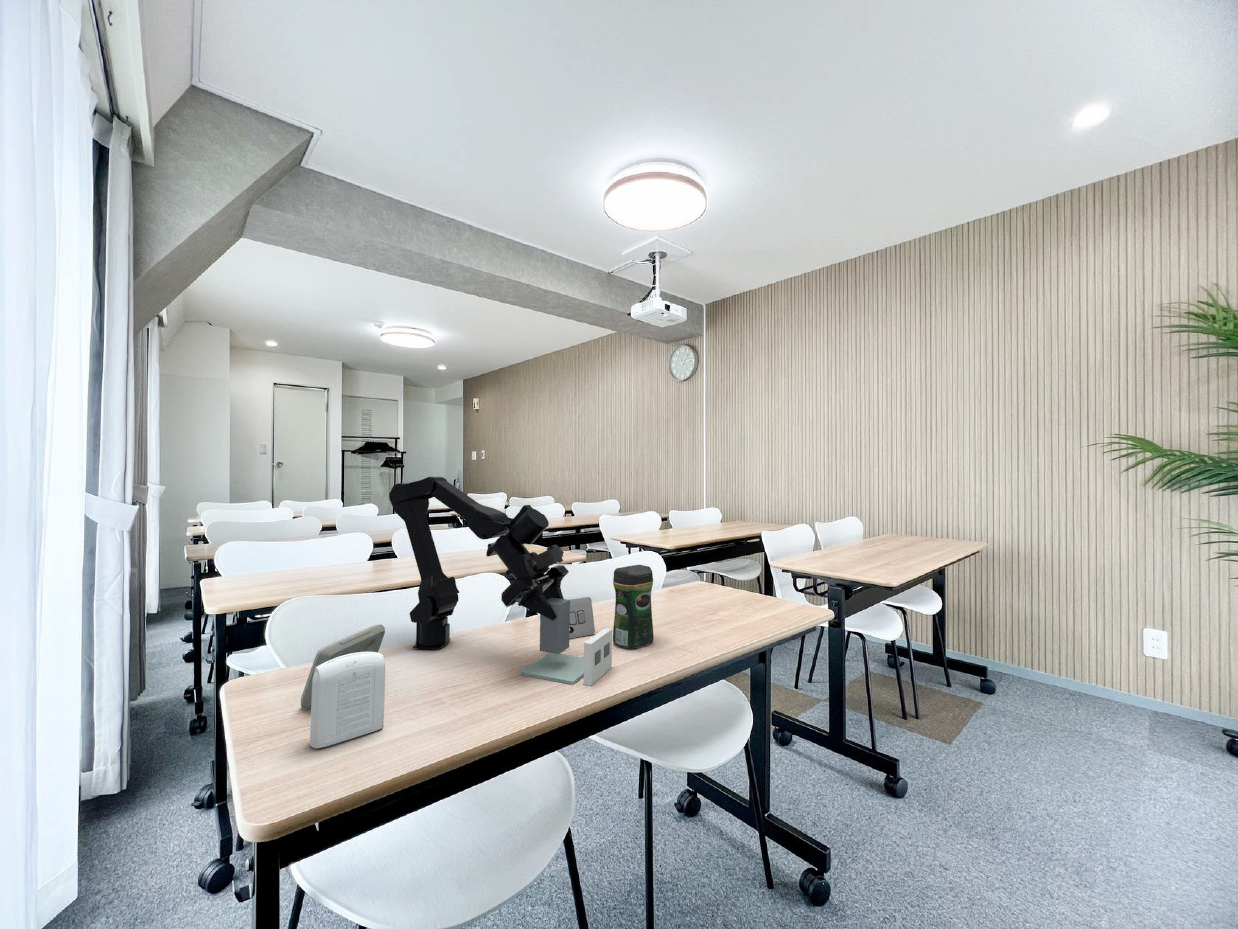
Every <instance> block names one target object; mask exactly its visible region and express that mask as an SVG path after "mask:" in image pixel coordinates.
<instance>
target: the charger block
mask: <svg viewBox="0 0 1238 929" xmlns="http://www.w3.org/2000/svg"><path fill="white" fill-rule="evenodd" d="M547 601H548V603H549V604H550V606H551V608H552V609H553V611H554V613H555V614H556V616H557V618H556V619H555V620H551V619H549V618H547V617H545V616H543V615H541V614H539V616H540V617H539V620H540V621H539V652H544V653H547V654H549V653H554V654H563V652H565V651H566V650H567V649H569V648H570V639H569V632H570V600H568V599H559V598H549V599H547Z"/></svg>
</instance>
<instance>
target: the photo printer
mask: <svg viewBox="0 0 1238 929" xmlns="http://www.w3.org/2000/svg"><path fill="white" fill-rule="evenodd" d="M385 687H386V660H385V655H383V654H382V653H381V652H379V651H378V652H357V653H351V654H346V655H343V656H339V657H336V658H334V659H331V660H329V661H327V662H325V663H323V664H321V665H319V666H317V667H316V668H315V670H314V676H313V680H312V702H311V708H310V728H309V729H310V733H309V734H310V735H309V736H310V737H309V746H310V747H312V748H313V749H316V750H317V749H321V748H326V747H329V746H333V745H335V744H339V743H343V742H345V741H349V740H352V739H354V738H357V737H361V736H364V735H368V734H371V733H373V732H377V731H378V730H382V728H384V725H385V724H384V722H385V721H384V719H385V693H386V692H385V690H386V688H385Z"/></svg>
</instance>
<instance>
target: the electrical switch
mask: <svg viewBox="0 0 1238 929" xmlns="http://www.w3.org/2000/svg"><path fill="white" fill-rule="evenodd" d="M567 600H570V632H569V640H570V639H574V638H575V639H576V638H582V637H586V636H592V635H593V636H594V635H595V633H596V627H595V619H594V618H595V617H594V610H593V600H592V598H591V597H590V596H585V597H577V598H570V599H567Z"/></svg>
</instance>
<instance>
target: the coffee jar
mask: <svg viewBox="0 0 1238 929" xmlns="http://www.w3.org/2000/svg"><path fill="white" fill-rule="evenodd" d="M612 584H613V587H614V592H615V604H614V605H615V606H614V618H613V626H612V627H613V628H612V643H614V644H615V645H616V646H618V647H620V648H624V649H638V648H641V647H644V646H647V645H649V644H652V643H653V641H654V625H653V612H652V611H653V610H652V589H653V585H654V576H653V570H652V568H651V567H650V566H649V565H648V566H647V565H645V564H634V565H627V566H622V567H617V568H615V569H614V571H613V581H612Z"/></svg>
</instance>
